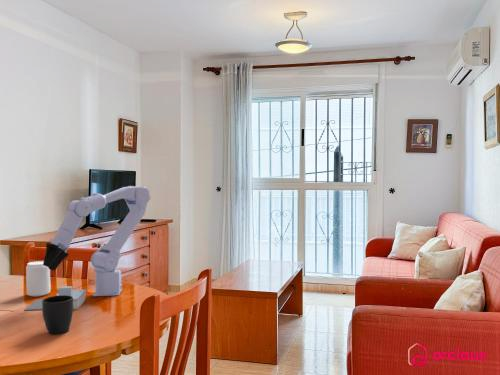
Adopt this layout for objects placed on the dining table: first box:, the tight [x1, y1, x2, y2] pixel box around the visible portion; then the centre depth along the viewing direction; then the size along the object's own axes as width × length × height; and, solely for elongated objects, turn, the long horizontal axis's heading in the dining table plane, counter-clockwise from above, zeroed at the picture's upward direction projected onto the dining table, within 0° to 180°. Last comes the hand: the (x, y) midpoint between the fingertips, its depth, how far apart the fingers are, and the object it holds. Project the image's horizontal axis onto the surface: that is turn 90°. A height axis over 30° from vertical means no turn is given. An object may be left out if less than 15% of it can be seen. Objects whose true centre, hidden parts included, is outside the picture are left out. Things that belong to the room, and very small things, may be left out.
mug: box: [41, 294, 74, 336], centre depth 139 cm, size 8×12×10 cm
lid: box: [56, 285, 87, 301], centre depth 164 cm, size 9×13×4 cm
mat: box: [23, 298, 44, 312], centre depth 166 cm, size 8×13×1 cm, turn 6°
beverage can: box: [25, 260, 51, 298], centre depth 180 cm, size 8×8×12 cm
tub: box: [73, 292, 86, 311], centre depth 165 cm, size 8×12×3 cm, turn 6°
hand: (48, 268), depth 163 cm, fingers open, 7 cm apart
